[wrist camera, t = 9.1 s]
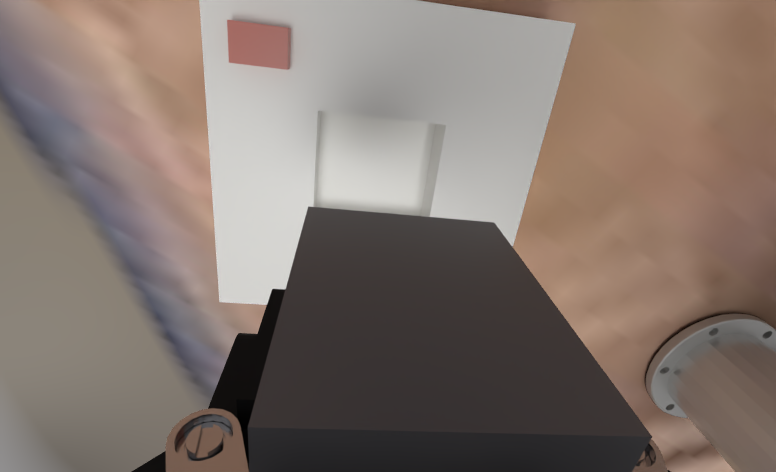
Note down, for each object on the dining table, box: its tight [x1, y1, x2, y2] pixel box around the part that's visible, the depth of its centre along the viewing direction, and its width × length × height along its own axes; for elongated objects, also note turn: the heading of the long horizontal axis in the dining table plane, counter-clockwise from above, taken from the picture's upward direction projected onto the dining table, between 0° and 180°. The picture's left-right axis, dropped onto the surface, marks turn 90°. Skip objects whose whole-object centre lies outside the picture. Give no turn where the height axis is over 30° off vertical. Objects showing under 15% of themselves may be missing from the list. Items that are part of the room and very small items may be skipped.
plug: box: [248, 206, 652, 472], centre depth 11 cm, size 6×6×8 cm
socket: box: [199, 0, 576, 305], centre depth 27 cm, size 20×20×5 cm
